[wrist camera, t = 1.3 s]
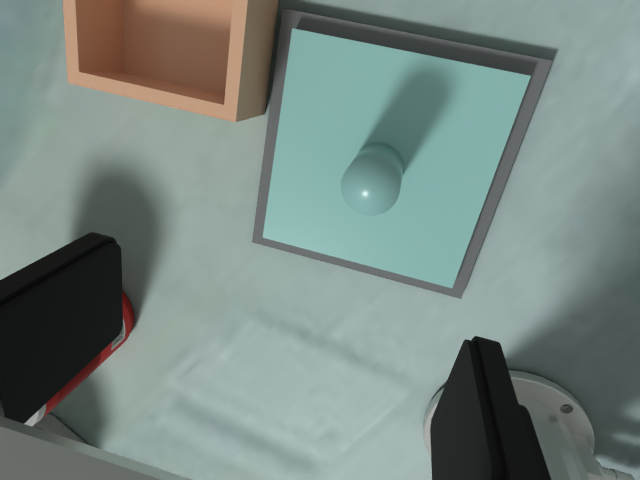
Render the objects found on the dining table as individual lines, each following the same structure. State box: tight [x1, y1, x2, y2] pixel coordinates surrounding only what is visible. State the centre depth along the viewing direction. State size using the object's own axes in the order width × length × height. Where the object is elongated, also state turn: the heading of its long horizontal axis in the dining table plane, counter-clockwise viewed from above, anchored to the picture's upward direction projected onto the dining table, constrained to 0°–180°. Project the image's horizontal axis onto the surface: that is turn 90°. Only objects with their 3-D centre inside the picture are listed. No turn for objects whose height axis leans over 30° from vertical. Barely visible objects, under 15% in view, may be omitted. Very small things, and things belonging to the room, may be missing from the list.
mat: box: [252, 8, 552, 299], centre depth 28 cm, size 16×16×1 cm
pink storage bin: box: [63, 0, 279, 122], centre depth 25 cm, size 11×11×5 cm
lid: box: [263, 28, 531, 288], centre depth 25 cm, size 14×14×6 cm
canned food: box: [24, 291, 134, 426], centre depth 34 cm, size 8×8×11 cm
